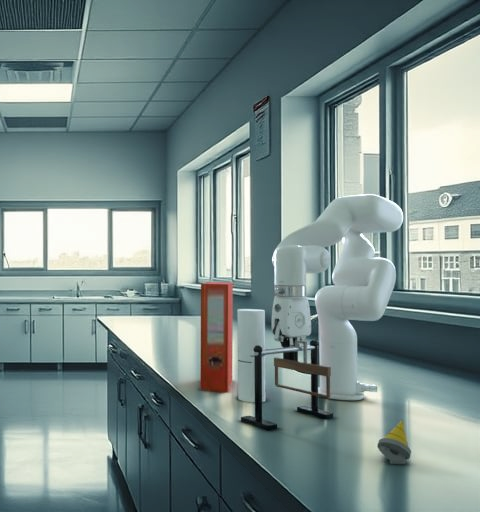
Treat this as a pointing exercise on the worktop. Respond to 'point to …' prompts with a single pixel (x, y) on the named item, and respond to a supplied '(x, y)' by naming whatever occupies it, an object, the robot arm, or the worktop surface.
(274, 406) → the worktop surface
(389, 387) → the worktop surface
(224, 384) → the file binder
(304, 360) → the brown clothes hanger
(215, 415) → the worktop surface
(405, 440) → the yellow grey cone
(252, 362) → the cylindrical container
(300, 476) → the worktop surface
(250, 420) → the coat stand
